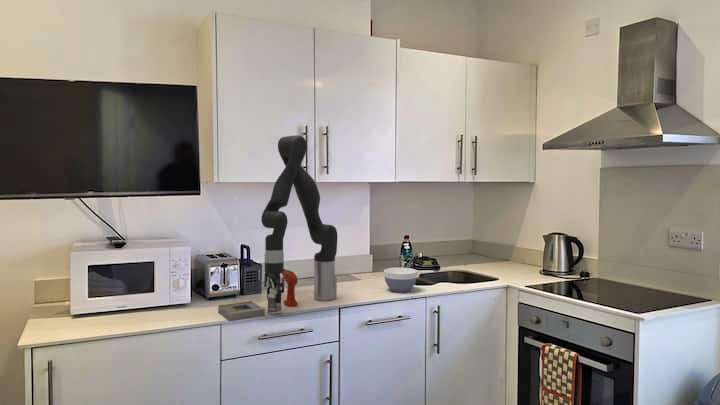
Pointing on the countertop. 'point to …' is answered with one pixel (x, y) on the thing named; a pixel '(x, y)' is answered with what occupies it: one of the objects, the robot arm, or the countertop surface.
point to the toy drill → (290, 287)
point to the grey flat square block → (241, 310)
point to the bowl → (400, 279)
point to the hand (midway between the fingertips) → (273, 300)
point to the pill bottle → (273, 303)
